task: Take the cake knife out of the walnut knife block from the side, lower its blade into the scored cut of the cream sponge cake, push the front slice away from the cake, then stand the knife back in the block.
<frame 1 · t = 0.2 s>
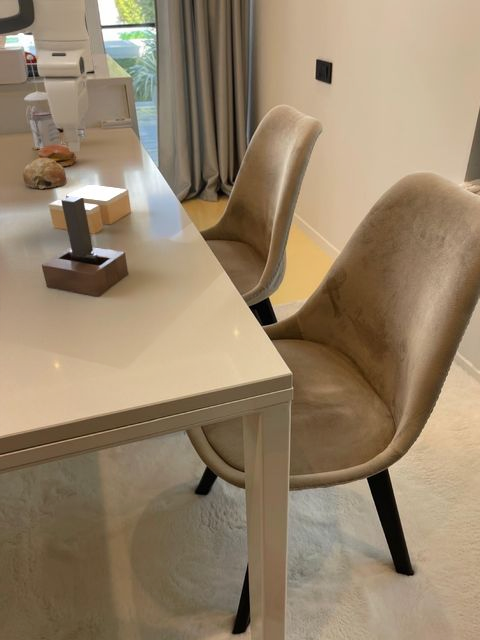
hand: (78, 145, 101), 17 cm above the table, tool pointing down, fingers open, 8 cm apart
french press: (47, 147, 170), on the table
cake knife: (80, 241, 90), in the knife block
cake: (99, 204, 119), on the table
knife block: (88, 280, 94), on the table
bread roll: (46, 184, 140), on the table
cake slice: (76, 216, 113), on the table
burger: (59, 164, 155), on the table
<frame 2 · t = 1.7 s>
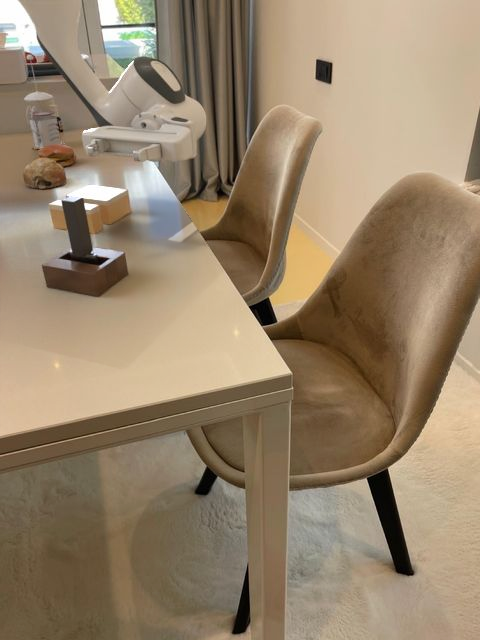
hand: (113, 154, 94), 18 cm above the table, tool horizontal, fingers open, 8 cm apart
nothing on the table moved.
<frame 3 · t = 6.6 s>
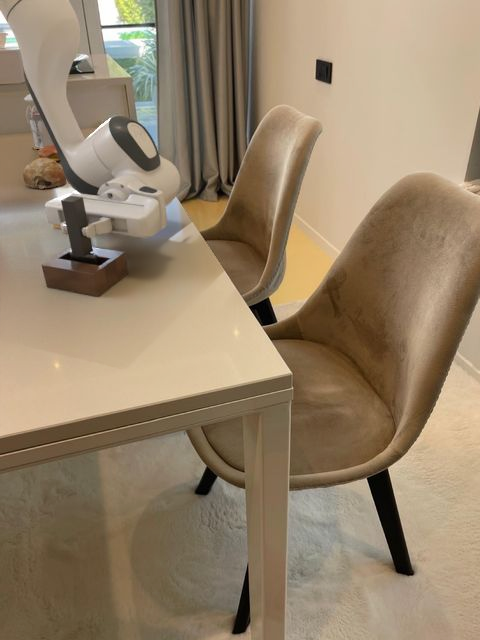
hand: (74, 231, 89), 9 cm above the table, tool horizontal, fingers closed on cake knife, 2 cm apart
cake knife: (80, 241, 90), in the knife block, touching gripper
everything else where it was.
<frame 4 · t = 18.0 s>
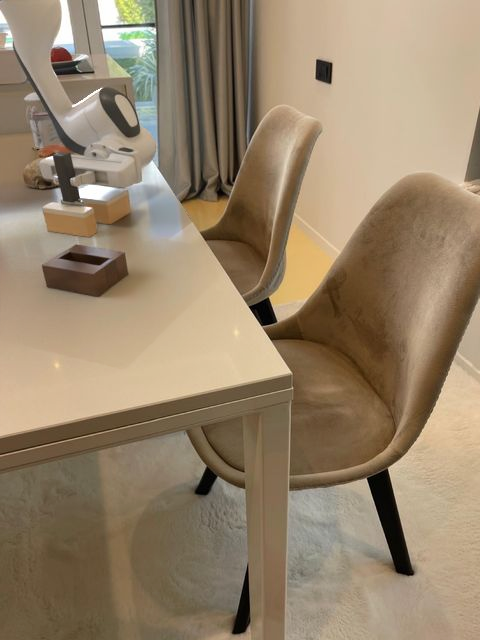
hand: (64, 181, 108), 10 cm above the table, tool horizontal, fingers closed on cake knife, 2 cm apart
cake knife: (69, 190, 109), point 8 cm above the table, touching cake slice, gripper
cake slice: (70, 219, 111), on the table, touching cake knife
everything else where it was.
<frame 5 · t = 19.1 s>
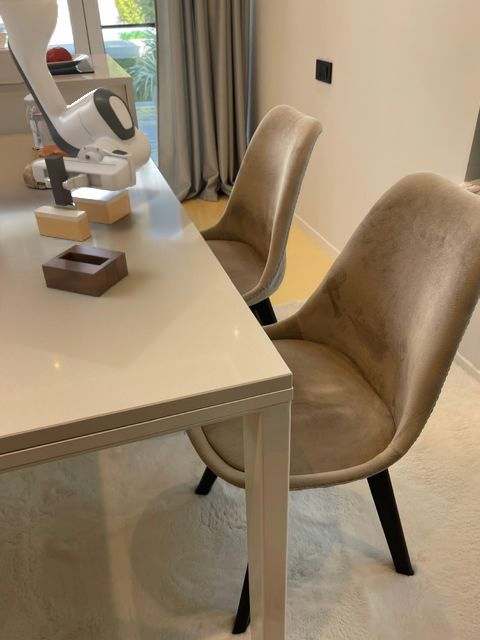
hand: (56, 184, 106), 10 cm above the table, tool horizontal, fingers closed on cake knife, 2 cm apart
cake knife: (62, 193, 108), point 8 cm above the table, touching cake slice, gripper
cake slice: (62, 223, 109), on the table, touching cake knife
everything else where it was.
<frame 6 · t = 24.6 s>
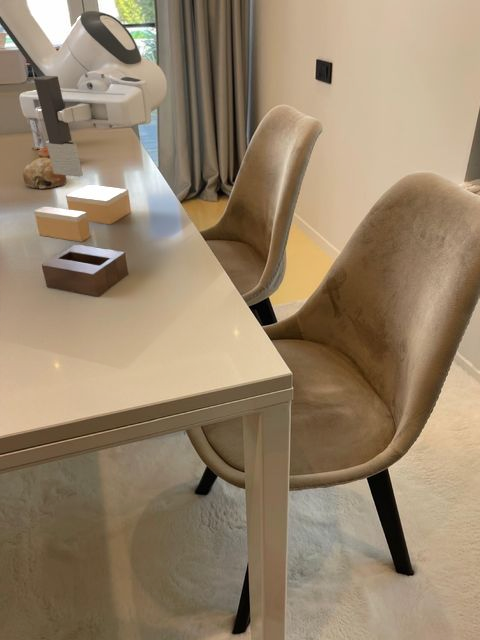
hand: (50, 115, 82), 26 cm above the table, tool horizontal, fingers closed on cake knife, 2 cm apart
cake knife: (57, 128, 84), point 24 cm above the table, touching gripper
cake slice: (62, 223, 109), on the table
everything else where it was.
when the fingers open (9 cm above the table, at t = 29.5 s): cake knife moves 3 cm and tips over, resting on knife block.
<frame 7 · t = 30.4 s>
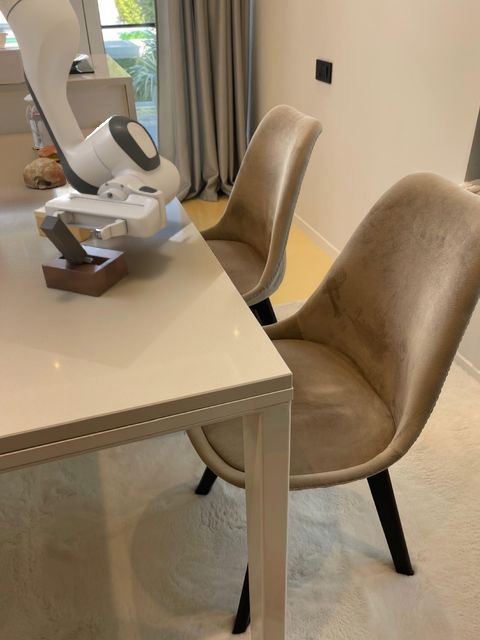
hand: (74, 231, 89), 9 cm above the table, tool horizontal, fingers open, 8 cm apart
cake knife: (72, 250, 89), resting in knife block, tilted 31°
everything else where it was.
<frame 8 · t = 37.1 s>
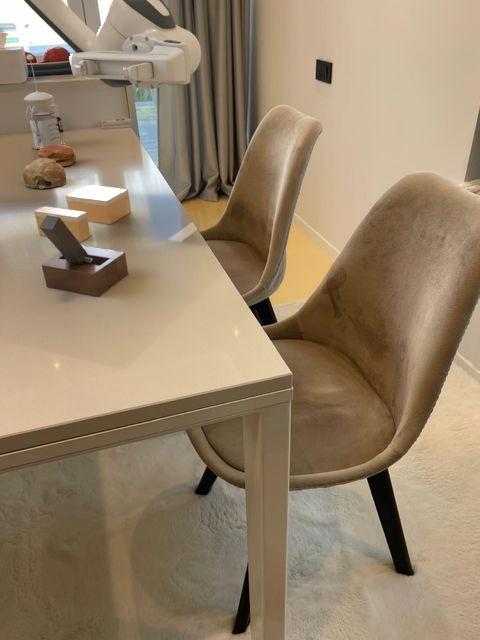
hand: (101, 72, 89), 30 cm above the table, tool horizontal, fingers open, 8 cm apart
nothing on the table moved.
at the end: cake slice moved 4.3 cm from its start; cake slice touching table; cake knife 1.2 cm off-centre on the knife block, point 6.3 cm above the knife block's base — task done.
